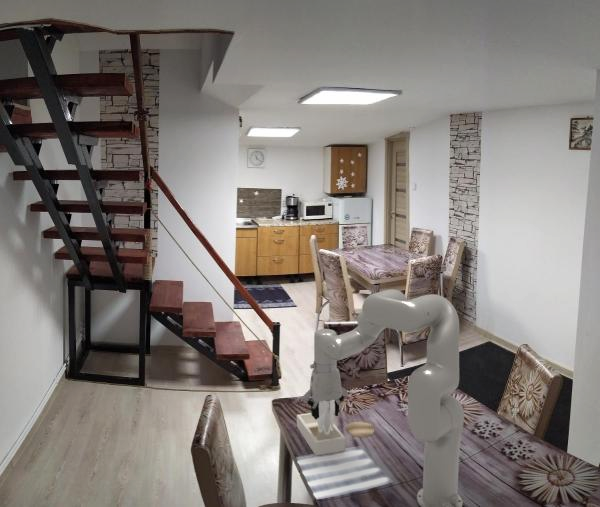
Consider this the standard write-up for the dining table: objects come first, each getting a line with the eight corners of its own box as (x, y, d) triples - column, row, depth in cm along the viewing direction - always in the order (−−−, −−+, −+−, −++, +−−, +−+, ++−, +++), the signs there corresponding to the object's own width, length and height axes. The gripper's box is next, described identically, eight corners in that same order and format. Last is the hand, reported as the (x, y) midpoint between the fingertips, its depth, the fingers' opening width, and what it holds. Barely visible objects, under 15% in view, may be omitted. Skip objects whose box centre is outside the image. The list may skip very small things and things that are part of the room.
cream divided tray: (345, 450, 182) (345, 437, 181) (315, 455, 179) (315, 442, 178) (323, 422, 202) (323, 410, 201) (296, 426, 199) (296, 414, 198)
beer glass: (333, 444, 181) (334, 402, 179) (313, 442, 183) (313, 400, 180) (336, 434, 188) (337, 393, 185) (317, 432, 189) (317, 391, 187)
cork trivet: (379, 434, 193) (379, 432, 193) (353, 438, 190) (353, 436, 190) (367, 421, 202) (367, 419, 202) (342, 425, 199) (342, 423, 199)
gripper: (304, 373, 175) (304, 424, 178) (353, 367, 180) (353, 417, 183) (297, 365, 182) (297, 415, 185) (345, 359, 187) (344, 407, 190)
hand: (325, 415), depth 184 cm, fingers closed on beer glass, 6 cm apart
